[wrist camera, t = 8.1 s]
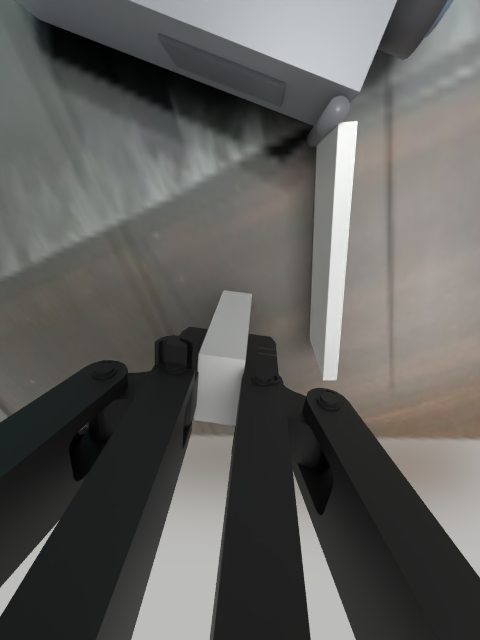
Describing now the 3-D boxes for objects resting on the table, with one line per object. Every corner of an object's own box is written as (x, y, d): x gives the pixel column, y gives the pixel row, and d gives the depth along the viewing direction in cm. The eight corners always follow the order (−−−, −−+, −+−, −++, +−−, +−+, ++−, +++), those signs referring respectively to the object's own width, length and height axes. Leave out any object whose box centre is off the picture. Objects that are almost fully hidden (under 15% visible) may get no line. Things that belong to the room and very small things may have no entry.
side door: (323, 336, 23) (343, 384, 17) (301, 336, 23) (314, 384, 17) (334, 128, 18) (370, 92, 12) (306, 130, 18) (328, 96, 12)
